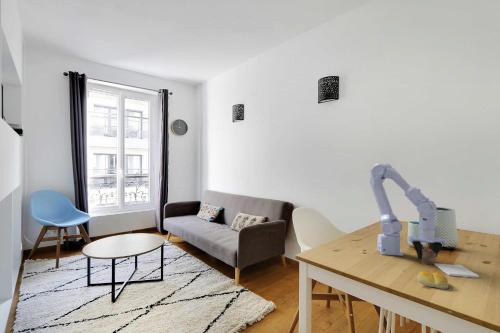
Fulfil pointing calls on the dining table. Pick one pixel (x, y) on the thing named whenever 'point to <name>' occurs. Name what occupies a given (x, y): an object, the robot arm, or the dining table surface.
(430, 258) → the walnut block
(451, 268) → the grey tile
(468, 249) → the dining table surface
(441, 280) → the bread roll
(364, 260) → the dining table surface
